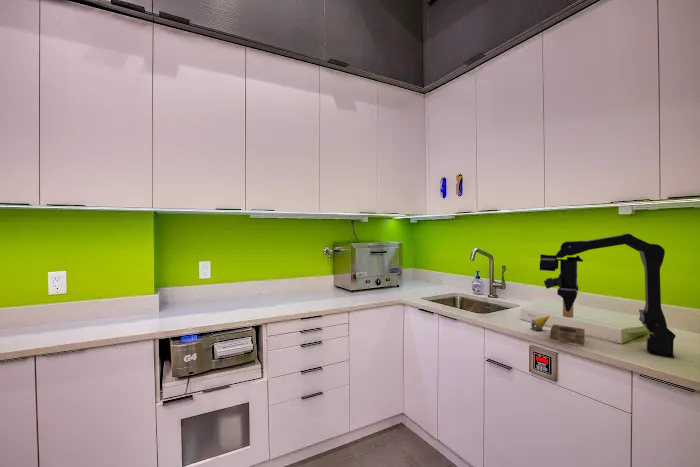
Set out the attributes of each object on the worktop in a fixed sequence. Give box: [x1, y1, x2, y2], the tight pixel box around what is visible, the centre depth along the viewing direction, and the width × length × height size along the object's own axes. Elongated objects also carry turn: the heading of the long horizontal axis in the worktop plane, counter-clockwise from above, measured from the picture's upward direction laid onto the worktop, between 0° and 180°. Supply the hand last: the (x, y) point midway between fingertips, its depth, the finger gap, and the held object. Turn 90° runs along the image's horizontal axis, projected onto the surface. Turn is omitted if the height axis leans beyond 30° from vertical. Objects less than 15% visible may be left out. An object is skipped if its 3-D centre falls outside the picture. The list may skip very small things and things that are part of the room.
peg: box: [562, 299, 574, 319], centre depth 133 cm, size 4×4×9 cm
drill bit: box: [530, 315, 551, 332], centre depth 145 cm, size 5×5×10 cm
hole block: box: [549, 324, 586, 347], centre depth 133 cm, size 11×11×4 cm
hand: (568, 310), depth 133 cm, fingers closed on peg, 4 cm apart
